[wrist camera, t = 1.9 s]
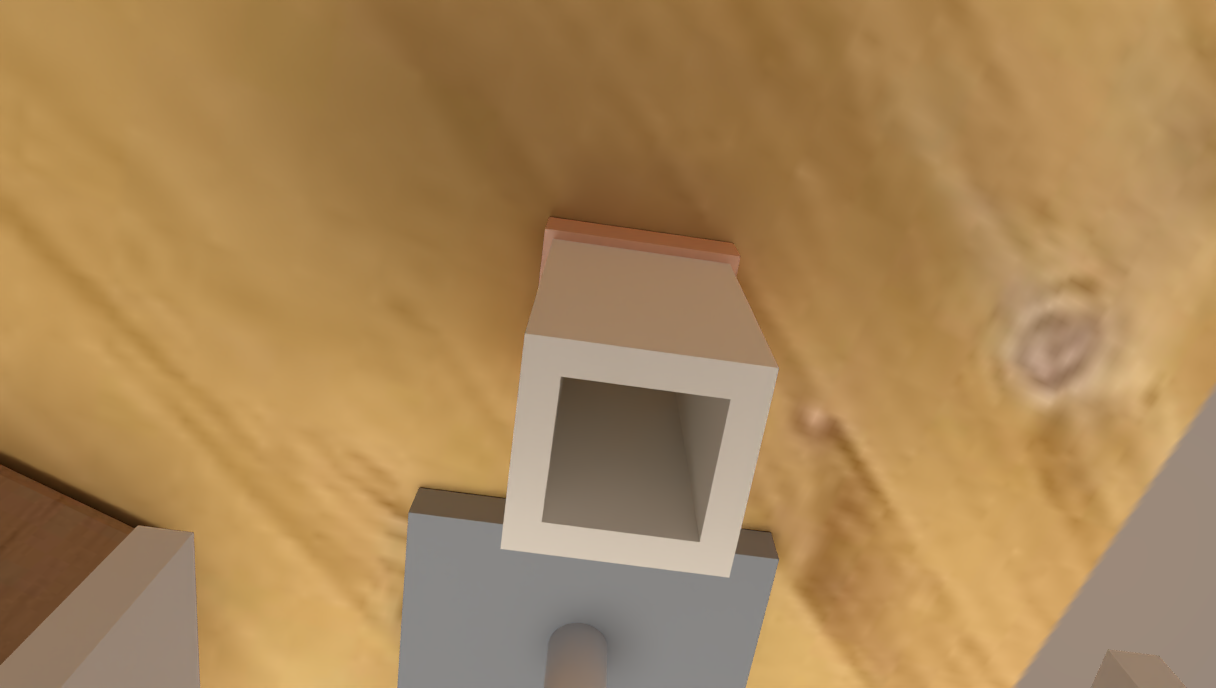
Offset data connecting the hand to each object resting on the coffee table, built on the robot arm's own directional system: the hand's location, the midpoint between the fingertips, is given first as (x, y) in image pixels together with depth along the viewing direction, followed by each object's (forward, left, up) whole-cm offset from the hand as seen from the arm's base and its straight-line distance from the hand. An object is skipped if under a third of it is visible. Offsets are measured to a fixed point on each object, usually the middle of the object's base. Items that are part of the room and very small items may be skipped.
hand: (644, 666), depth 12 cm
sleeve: (0, 0, -14) cm, 14 cm away
